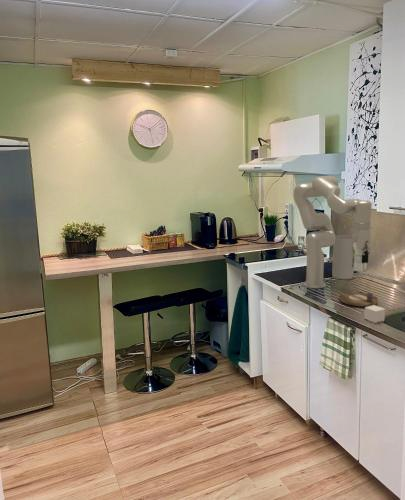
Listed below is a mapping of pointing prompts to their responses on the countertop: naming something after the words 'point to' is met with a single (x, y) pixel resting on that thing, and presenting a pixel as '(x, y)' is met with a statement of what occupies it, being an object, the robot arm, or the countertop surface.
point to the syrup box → (358, 259)
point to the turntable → (358, 298)
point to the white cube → (374, 313)
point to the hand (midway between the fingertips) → (360, 260)
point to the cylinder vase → (342, 258)
